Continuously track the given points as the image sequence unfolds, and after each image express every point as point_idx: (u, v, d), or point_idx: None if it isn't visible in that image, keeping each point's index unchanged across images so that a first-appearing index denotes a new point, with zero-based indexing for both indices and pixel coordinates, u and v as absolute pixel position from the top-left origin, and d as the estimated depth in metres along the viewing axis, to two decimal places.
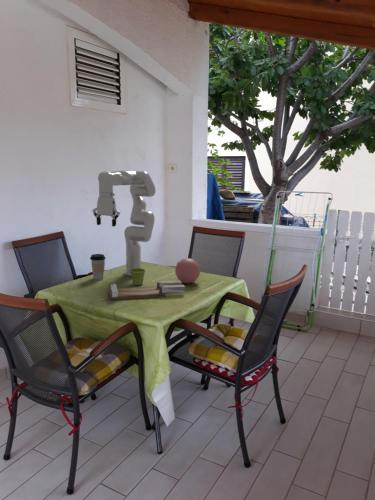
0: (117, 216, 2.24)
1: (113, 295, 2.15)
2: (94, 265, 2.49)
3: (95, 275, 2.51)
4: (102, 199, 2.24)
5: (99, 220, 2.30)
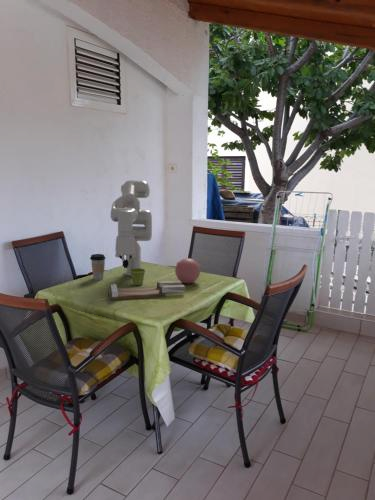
0: (130, 257, 2.15)
1: (113, 295, 2.15)
2: (94, 265, 2.49)
3: (95, 275, 2.51)
4: (124, 239, 2.10)
5: None
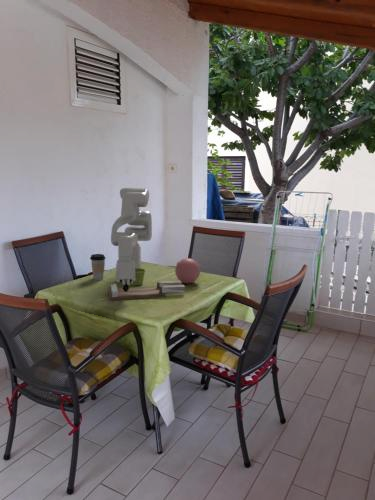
0: (131, 281, 2.18)
1: (113, 295, 2.15)
2: (94, 265, 2.49)
3: (95, 275, 2.51)
4: (124, 264, 2.13)
5: None
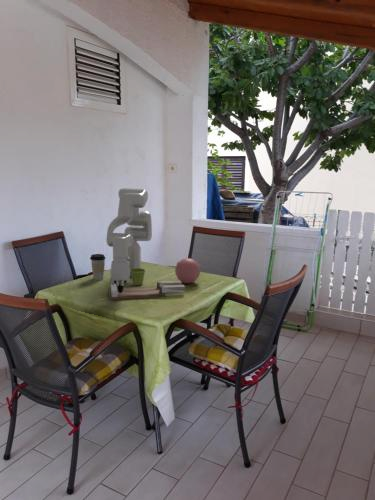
0: (125, 282, 2.17)
1: (113, 295, 2.15)
2: (94, 265, 2.49)
3: (95, 275, 2.51)
4: (118, 265, 2.13)
5: None
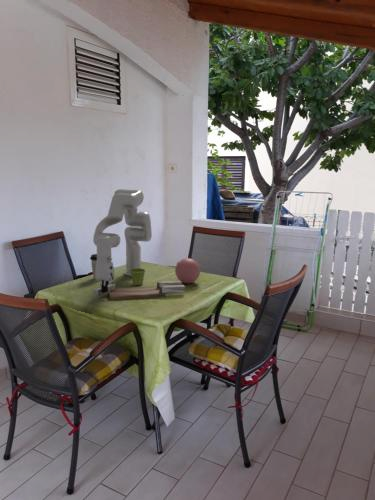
0: (107, 283, 2.15)
1: (94, 293, 2.17)
2: (94, 265, 2.49)
3: (95, 275, 2.51)
4: (99, 264, 2.13)
5: None
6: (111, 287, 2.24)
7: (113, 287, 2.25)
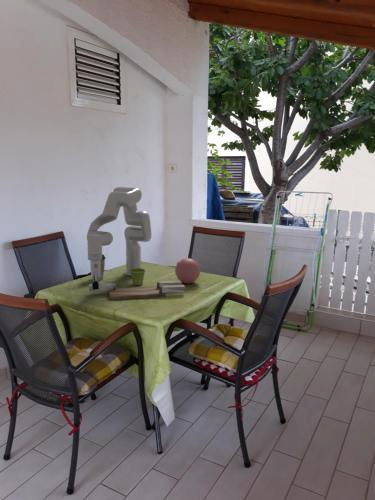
0: (94, 280, 2.18)
1: None
2: None
3: None
4: (90, 260, 2.19)
5: None
6: (108, 286, 2.25)
7: (110, 287, 2.26)
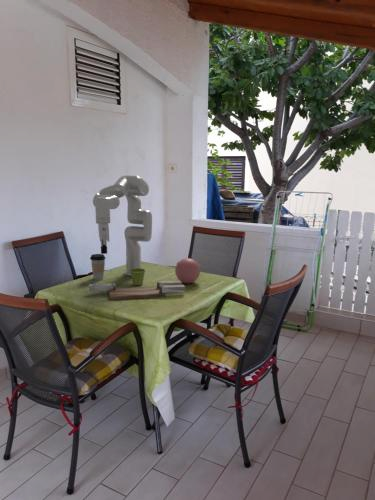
0: (102, 244, 2.16)
1: None
2: (94, 265, 2.49)
3: (95, 275, 2.51)
4: (98, 224, 2.17)
5: None
6: (108, 286, 2.25)
7: (110, 287, 2.26)
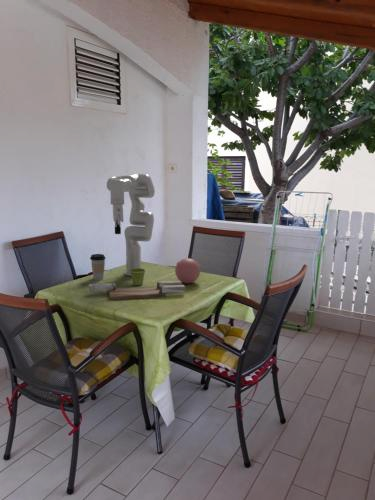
0: (116, 225, 2.27)
1: None
2: (94, 265, 2.49)
3: (95, 275, 2.51)
4: None
5: None
6: (108, 286, 2.25)
7: (110, 287, 2.26)
